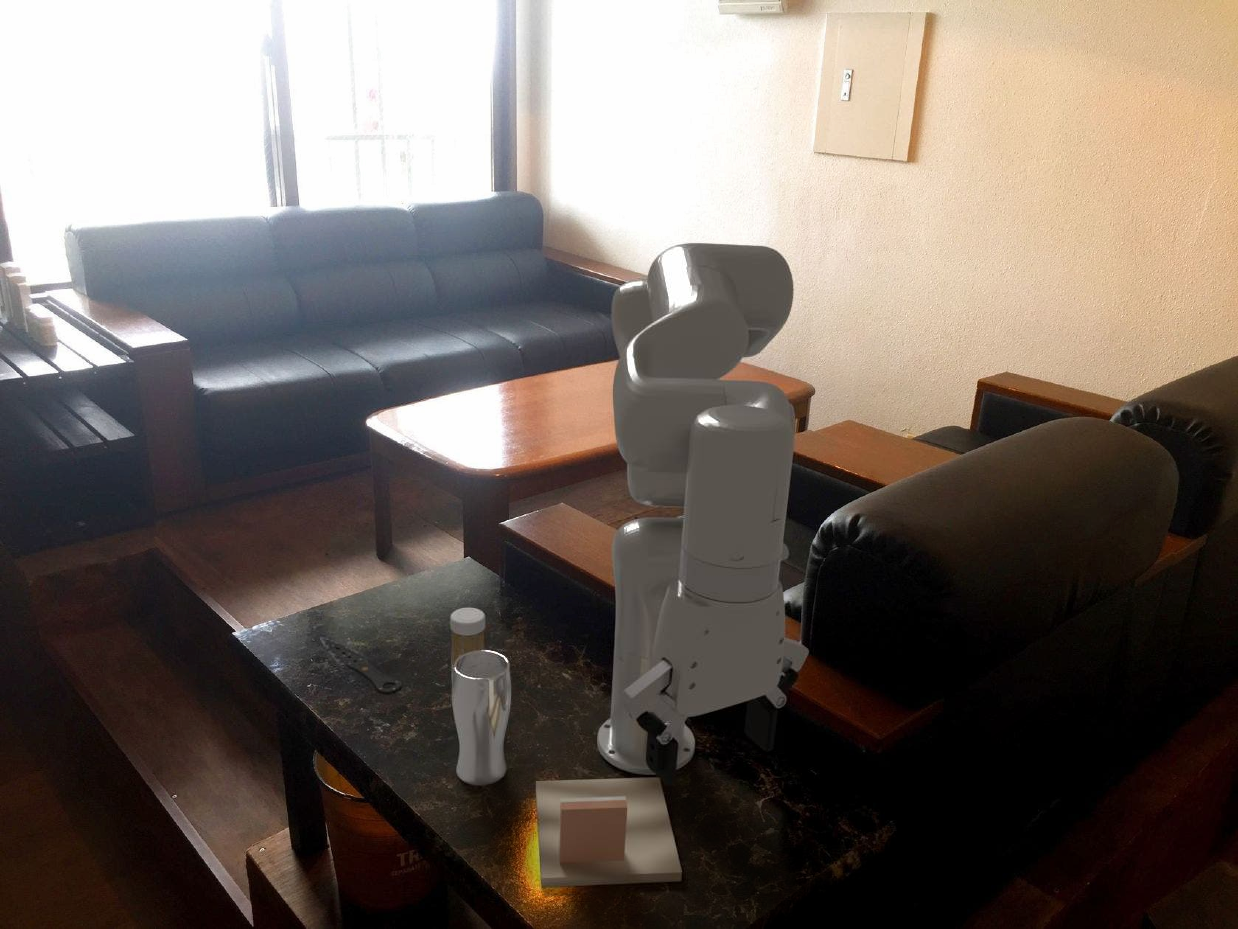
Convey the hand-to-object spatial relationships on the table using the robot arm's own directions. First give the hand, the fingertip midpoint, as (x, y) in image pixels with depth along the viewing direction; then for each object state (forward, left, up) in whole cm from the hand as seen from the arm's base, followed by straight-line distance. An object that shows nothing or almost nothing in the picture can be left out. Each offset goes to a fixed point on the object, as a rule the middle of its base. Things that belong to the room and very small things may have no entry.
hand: (710, 758), depth 83 cm
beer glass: (-37, -19, -29) cm, 51 cm away
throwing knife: (-63, -37, -29) cm, 79 cm away
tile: (-20, -7, -27) cm, 35 cm away
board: (-25, -5, -29) cm, 39 cm away
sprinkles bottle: (-52, -21, -29) cm, 63 cm away
